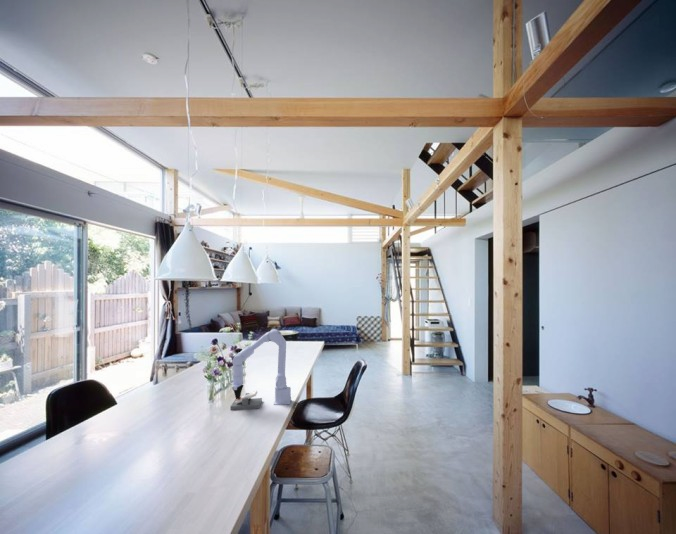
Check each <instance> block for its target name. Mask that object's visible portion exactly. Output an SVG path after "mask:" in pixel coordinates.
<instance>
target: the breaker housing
mask: <svg viewBox="0 0 676 534" xmlns="http://www.w3.org/2000/svg"><path fill="white" fill-rule="evenodd" d="M249 393H250V392H246V393H245V394H244V395H247V394H249ZM236 400H237V399H236V398H235V399H234V400H233V402H232V403H231V405H230V411H236V410H237V411H238V410H257V409H260V407H261V405H262V403H263V398H262V397H260V398H259V397H258V398H257V397H256V398H254V397H253V398H249V399H248V398H243V399H242V402H239V403H237V404H236Z"/></svg>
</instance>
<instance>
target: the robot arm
mask: <svg viewBox="0 0 676 534" xmlns="http://www.w3.org/2000/svg"><path fill="white" fill-rule="evenodd" d="M269 342H273V343H275V344H276V345H277V346H278V358H277V359H278V360H277V375H276V377H275V386H274V396H275V397H274V398H275V399H274V402H273V406H280V405H291V400H292V397H291V394H292V393H291V386H288V385H287V378H286V356H287V355H286V353H287V341H286V339H285V338H284V336H283V334H282V333H281V332H280V331H279V330H278V329H277V328H272V329H270V331H267V332H266V333H264V334H263V335H262V336H261V337H259V338H258V339H257V340H256V341H255V342H254V343H253V344H251V345H246V346H244V347H243V349H242V350H240V352H239V351H238V352H237V354H235V355H234V357H232V382H231V383H230V385H232V387H231V388H232V390H233V393H234V396H235V399H240V397H242V392H243V391H242V390H243V388H244V365H243V364H244V363H243V362H244V361H246V360H247V359H249V357H251V356H252V355H253V354H254V353H255V350H256V349H258V348H259V347H260V346H262V345H263V344H264V343H269Z"/></svg>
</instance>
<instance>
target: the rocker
mask: <svg viewBox="0 0 676 534" xmlns="http://www.w3.org/2000/svg"><path fill="white" fill-rule="evenodd" d="M248 393H249V394H247V395H245V394H244V395H243V396H242V395H241V396H240V399H237V400H236V404H237V403H239V402H242V399H243V398H248V399H249V398H251V399H253V398H254V397H256V396H257V395H258V391H257V390H255V391H253V392H248Z"/></svg>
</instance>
